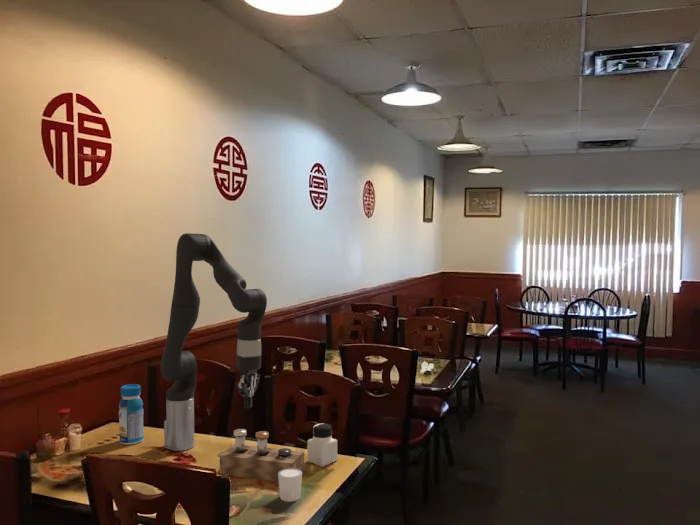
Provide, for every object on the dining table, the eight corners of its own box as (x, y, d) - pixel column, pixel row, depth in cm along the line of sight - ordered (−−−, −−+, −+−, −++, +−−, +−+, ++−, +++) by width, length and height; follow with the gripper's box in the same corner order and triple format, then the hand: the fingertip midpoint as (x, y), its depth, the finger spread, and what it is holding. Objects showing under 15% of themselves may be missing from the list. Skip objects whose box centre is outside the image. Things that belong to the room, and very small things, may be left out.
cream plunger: (231, 455, 185) (231, 432, 185) (237, 450, 189) (237, 428, 189) (243, 456, 184) (243, 433, 184) (248, 452, 188) (248, 429, 188)
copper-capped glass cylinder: (253, 457, 183) (253, 434, 183) (259, 453, 187) (258, 430, 187) (265, 458, 182) (265, 435, 182) (270, 454, 186) (270, 431, 186)
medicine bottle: (337, 461, 194) (337, 424, 194) (322, 467, 189) (322, 430, 189) (322, 455, 199) (322, 420, 199) (306, 461, 194) (306, 425, 194)
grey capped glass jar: (276, 475, 182) (275, 452, 181) (281, 470, 185) (281, 447, 185) (288, 476, 180) (288, 453, 180) (293, 471, 184) (293, 449, 184)
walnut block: (219, 474, 184) (219, 455, 183) (234, 462, 193) (234, 444, 193) (292, 483, 177) (292, 463, 177) (304, 470, 186) (304, 451, 186)
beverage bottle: (139, 445, 209) (138, 389, 208) (115, 445, 209) (114, 389, 208) (147, 437, 217) (146, 383, 217) (124, 437, 218) (123, 383, 217)
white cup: (292, 504, 163) (292, 479, 162) (273, 498, 166) (272, 474, 166) (307, 495, 168) (307, 471, 168) (288, 490, 172) (288, 466, 172)
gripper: (247, 348, 192) (246, 400, 193) (228, 356, 179) (227, 412, 181) (268, 350, 190) (267, 403, 191) (251, 358, 177) (249, 415, 179)
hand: (248, 407), depth 186 cm, fingers closed
